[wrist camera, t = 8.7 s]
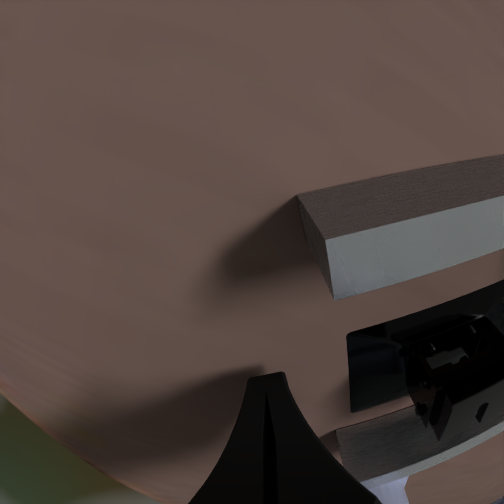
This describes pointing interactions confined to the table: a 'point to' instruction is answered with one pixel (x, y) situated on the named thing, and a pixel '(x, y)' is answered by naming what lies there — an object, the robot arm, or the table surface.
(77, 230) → the table surface
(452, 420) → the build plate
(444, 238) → the steel channel
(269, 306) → the table surface
